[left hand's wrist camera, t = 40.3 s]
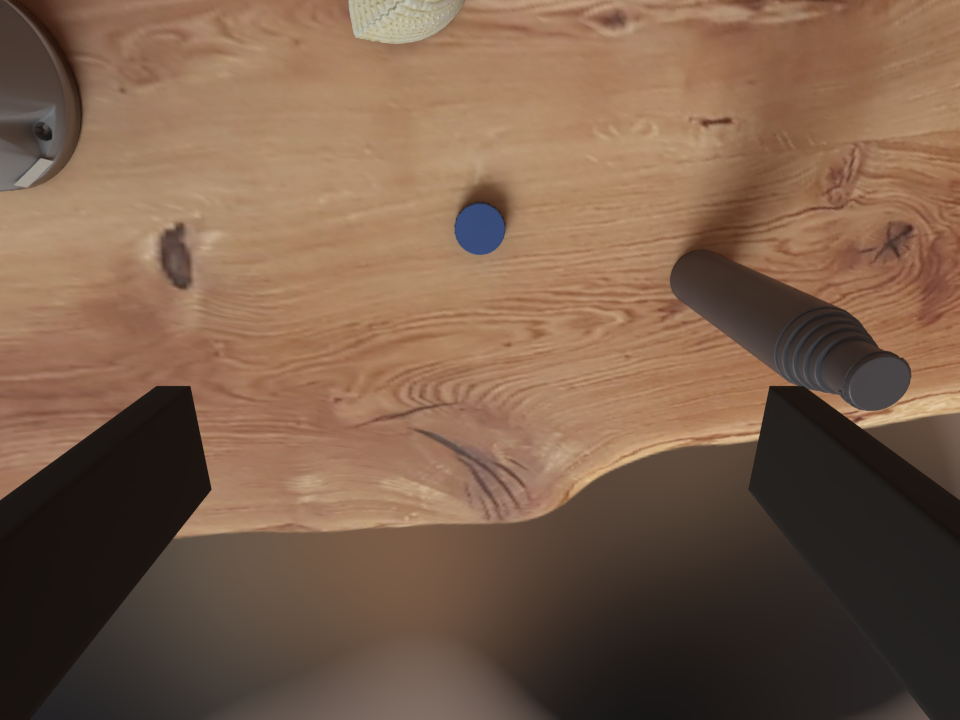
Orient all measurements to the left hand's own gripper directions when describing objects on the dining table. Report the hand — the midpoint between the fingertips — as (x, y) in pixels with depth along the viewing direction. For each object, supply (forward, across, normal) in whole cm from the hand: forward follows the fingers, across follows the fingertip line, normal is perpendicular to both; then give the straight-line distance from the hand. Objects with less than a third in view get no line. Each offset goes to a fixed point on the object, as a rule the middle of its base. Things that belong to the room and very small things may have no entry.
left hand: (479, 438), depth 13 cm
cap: (+36, 0, 0) cm, 36 cm away
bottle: (+38, +20, -4) cm, 43 cm away
